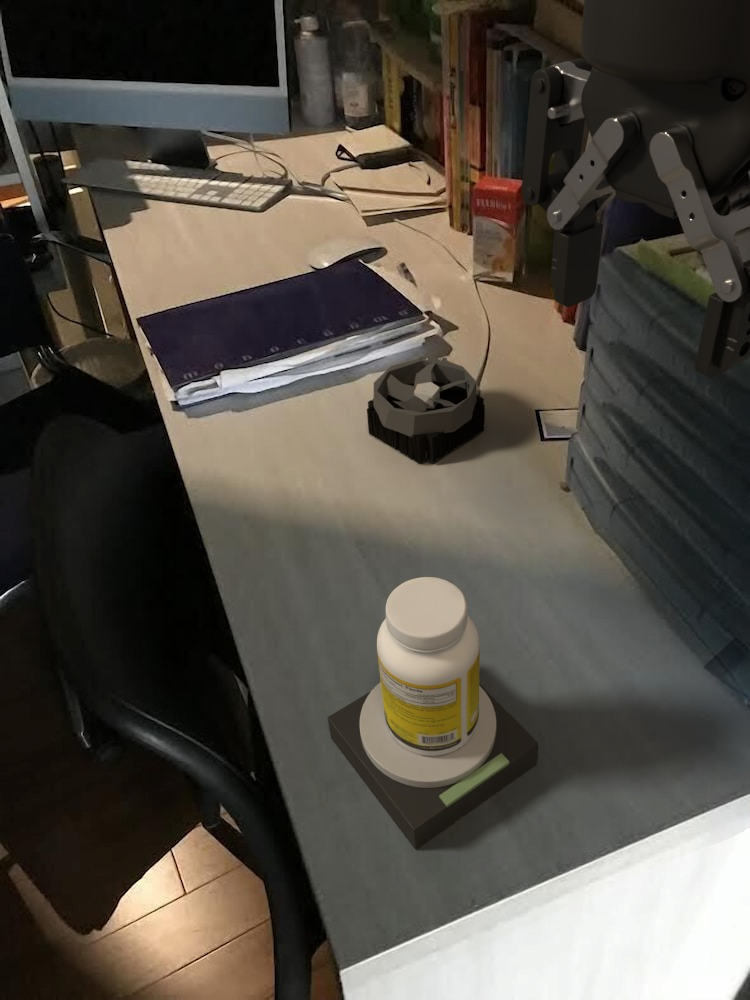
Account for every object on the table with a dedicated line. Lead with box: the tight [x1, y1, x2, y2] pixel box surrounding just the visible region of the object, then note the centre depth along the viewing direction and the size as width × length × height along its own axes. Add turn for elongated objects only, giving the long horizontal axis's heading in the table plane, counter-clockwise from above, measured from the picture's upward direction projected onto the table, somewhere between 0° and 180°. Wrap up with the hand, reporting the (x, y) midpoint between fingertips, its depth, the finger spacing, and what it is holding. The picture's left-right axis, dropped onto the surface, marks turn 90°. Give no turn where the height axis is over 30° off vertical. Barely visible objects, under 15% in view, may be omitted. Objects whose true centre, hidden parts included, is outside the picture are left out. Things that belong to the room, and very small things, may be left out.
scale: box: [326, 681, 540, 851], centre depth 56 cm, size 10×10×3 cm
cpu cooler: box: [366, 355, 486, 465], centre depth 83 cm, size 10×6×10 cm
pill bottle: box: [376, 576, 481, 756], centre depth 51 cm, size 6×6×11 cm
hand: (639, 332), depth 39 cm, fingers open, 8 cm apart
